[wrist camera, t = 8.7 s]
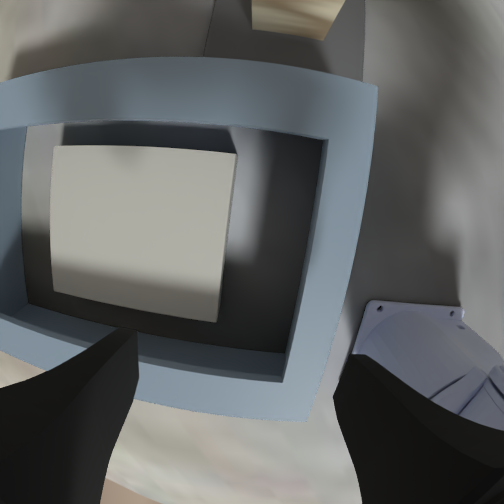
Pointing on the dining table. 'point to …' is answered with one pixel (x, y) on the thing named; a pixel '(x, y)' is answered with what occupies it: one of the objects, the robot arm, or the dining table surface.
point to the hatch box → (181, 221)
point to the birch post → (295, 16)
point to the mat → (289, 40)
